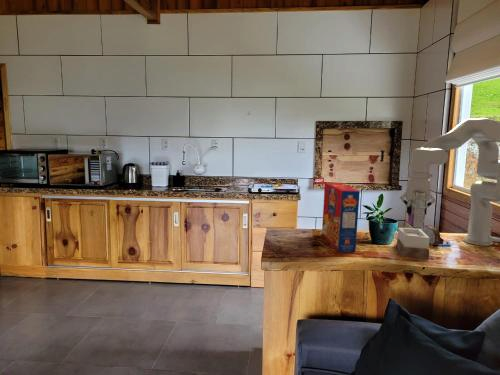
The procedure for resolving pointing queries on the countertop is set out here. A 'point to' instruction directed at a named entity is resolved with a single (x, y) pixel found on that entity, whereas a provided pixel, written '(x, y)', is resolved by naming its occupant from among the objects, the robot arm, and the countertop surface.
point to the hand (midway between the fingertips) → (416, 215)
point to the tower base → (412, 251)
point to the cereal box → (340, 216)
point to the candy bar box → (417, 209)
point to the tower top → (413, 238)
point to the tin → (432, 234)
